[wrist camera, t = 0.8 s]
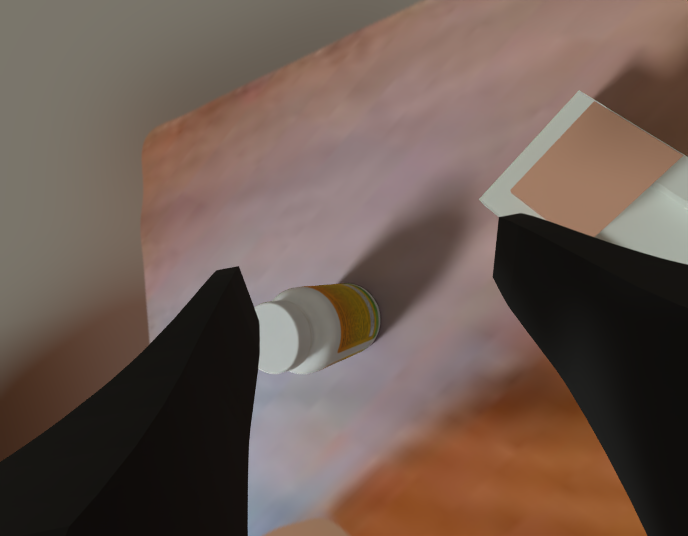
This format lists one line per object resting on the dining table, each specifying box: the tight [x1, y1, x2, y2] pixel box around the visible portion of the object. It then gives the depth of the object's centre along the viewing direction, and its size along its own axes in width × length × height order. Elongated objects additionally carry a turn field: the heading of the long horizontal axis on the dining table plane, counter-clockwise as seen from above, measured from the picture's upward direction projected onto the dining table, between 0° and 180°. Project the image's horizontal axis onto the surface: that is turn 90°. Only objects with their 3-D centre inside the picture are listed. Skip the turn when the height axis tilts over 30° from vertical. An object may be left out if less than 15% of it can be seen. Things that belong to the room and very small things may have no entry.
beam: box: [479, 91, 688, 265], centre depth 19 cm, size 17×8×4 cm, turn 47°
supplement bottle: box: [254, 283, 380, 374], centre depth 25 cm, size 5×5×10 cm
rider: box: [510, 101, 684, 237], centre depth 18 cm, size 4×5×4 cm
